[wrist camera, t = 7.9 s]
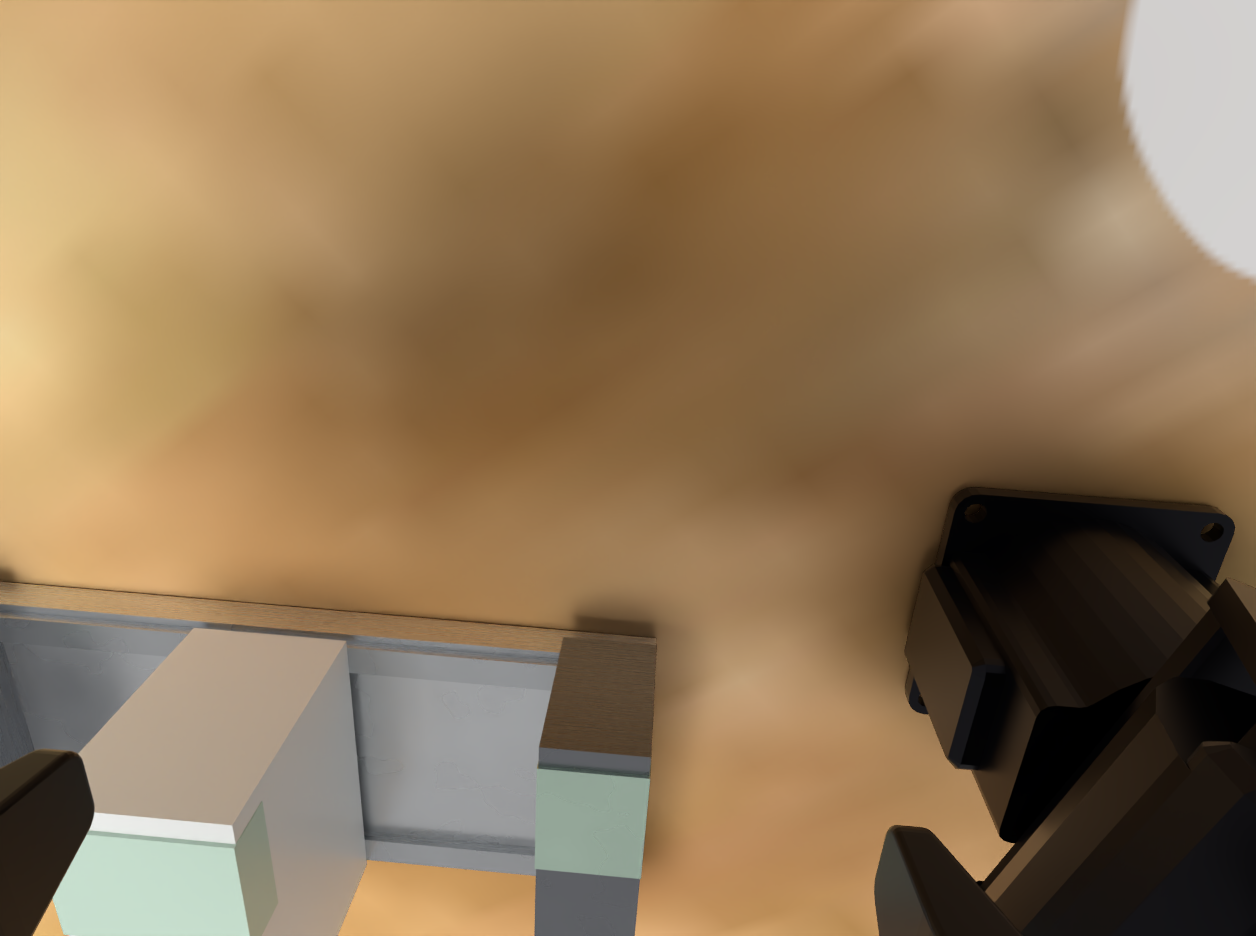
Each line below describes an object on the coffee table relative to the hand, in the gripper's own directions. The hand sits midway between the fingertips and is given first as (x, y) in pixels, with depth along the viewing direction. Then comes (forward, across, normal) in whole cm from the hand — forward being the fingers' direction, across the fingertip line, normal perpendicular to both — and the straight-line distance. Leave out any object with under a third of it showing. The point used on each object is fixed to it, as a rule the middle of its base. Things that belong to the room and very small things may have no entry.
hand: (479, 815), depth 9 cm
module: (+11, +8, +10) cm, 17 cm away
